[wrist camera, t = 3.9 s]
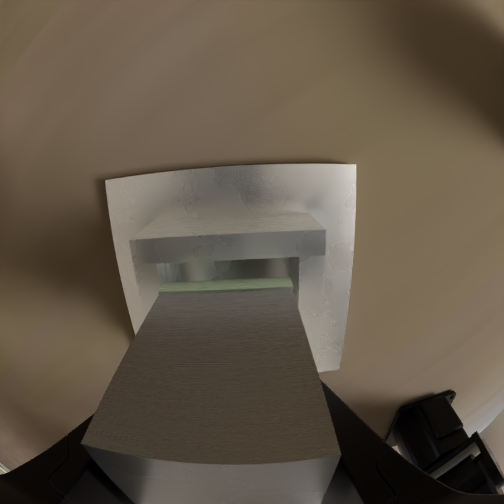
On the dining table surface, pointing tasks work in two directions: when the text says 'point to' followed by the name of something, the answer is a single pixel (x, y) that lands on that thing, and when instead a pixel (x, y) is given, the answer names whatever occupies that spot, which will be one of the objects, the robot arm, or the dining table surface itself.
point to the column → (217, 401)
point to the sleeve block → (242, 237)
